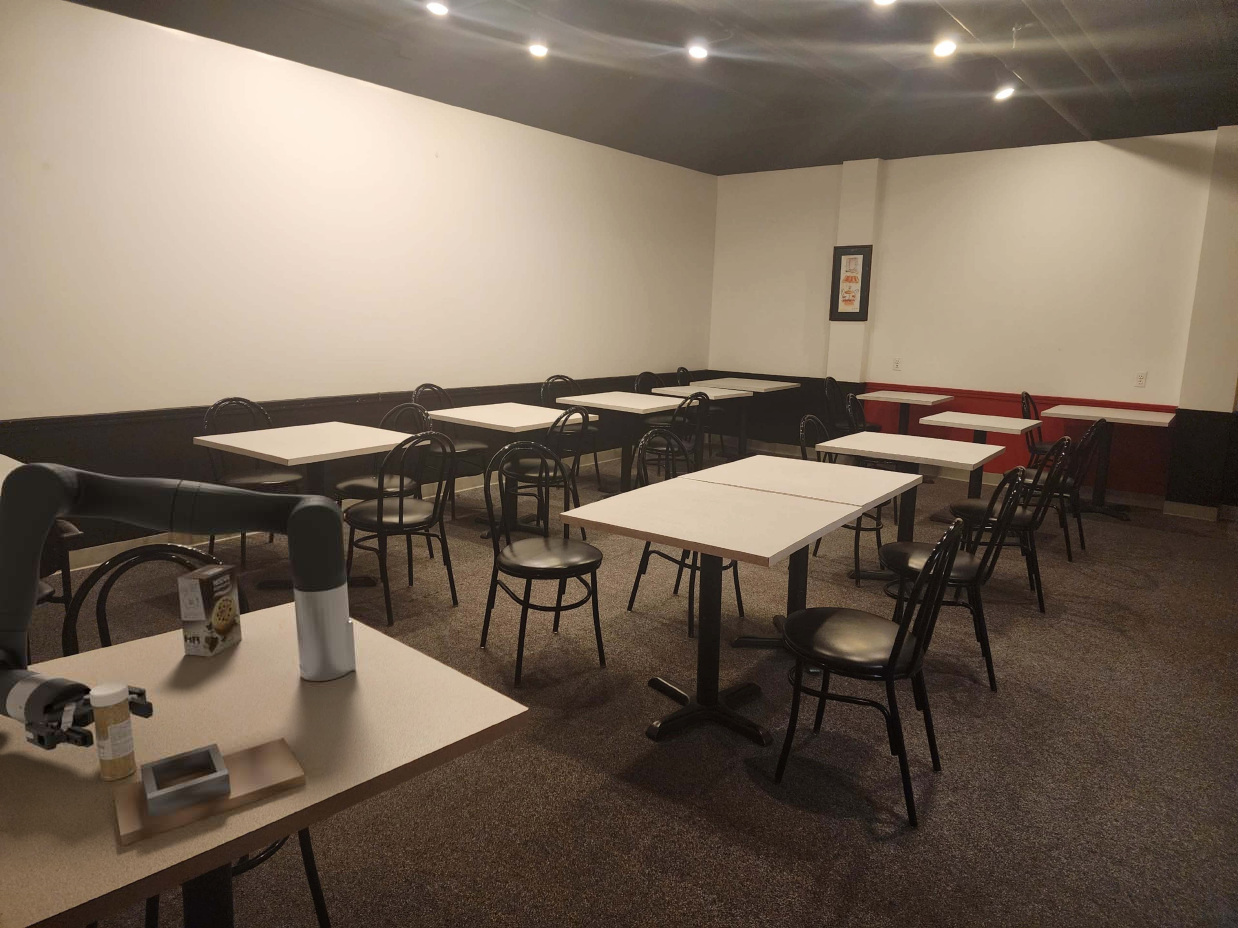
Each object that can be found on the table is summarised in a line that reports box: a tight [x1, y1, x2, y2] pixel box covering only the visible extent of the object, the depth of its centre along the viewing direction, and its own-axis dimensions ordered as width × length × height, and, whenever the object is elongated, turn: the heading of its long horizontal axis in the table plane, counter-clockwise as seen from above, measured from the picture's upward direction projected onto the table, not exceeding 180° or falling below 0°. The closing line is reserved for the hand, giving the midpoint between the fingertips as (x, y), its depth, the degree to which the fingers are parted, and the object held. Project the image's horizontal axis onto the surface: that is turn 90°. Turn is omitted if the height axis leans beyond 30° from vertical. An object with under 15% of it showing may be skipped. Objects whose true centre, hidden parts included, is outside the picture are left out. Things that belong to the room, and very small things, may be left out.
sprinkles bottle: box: [90, 680, 138, 782], centre depth 109 cm, size 5×5×14 cm
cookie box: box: [177, 564, 243, 658], centre depth 152 cm, size 9×6×16 cm
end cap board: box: [113, 737, 307, 847], centre depth 105 cm, size 22×12×4 cm, turn 127°
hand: (121, 724), depth 108 cm, fingers open, 8 cm apart
